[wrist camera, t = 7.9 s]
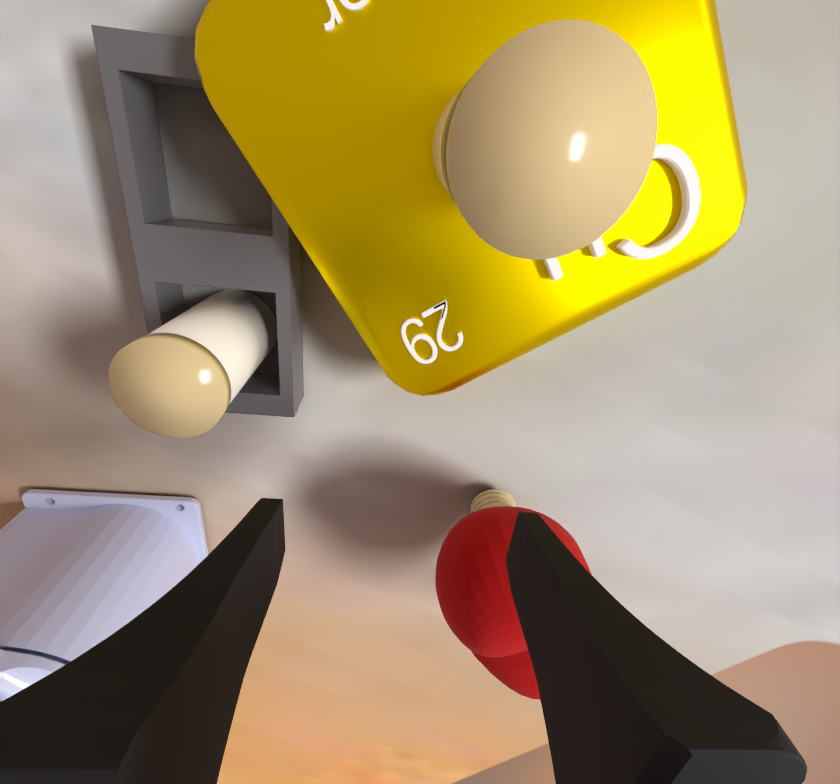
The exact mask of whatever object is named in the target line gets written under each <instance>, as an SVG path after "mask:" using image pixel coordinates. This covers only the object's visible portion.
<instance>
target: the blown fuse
mask: <svg viewBox="0 0 840 784" xmlns="http://www.w3.org/2000/svg"><path fill="white" fill-rule="evenodd" d="M657 130H658V111H657V103H656V96H655V92H654V88H653V85H652V81H651V79H650V76H649V74H648V71H647V69H646V67H645V65H644V64H643V62H642V60H641V59H640V57H639V55H638V54H637V53H636V52H635V50H634V49H633V48H632V47H631V46H630V45H629V44H628V43H627V42H626V41H625V40H624V39H623V38H621V37H620V36H619V35H618V34H616V33H615V32H613V31H611V30H609V29H607V28H606V27H604V26H601V25H598V24H595V23H592V22H589V21H582V20H575V19H573V20H556V21H551V22H546V23H542V24H540V25H537V26H534V27H531V28H529V29H527V30H525V31H523V32H521V33H519V34H518V35H516V36H514V37H513V38H511V39H510V40H508V41H507V42H506V43H504V44H503V45H502V46H500V47H499V48H498V49H497V50H496V51H495V52H494V53H493V54H492V55H491V56H490V57H489V58H488V59H487V60H486V61H485V62H484V63H483V64H482V65H481V66H480V68H479V69H478V70H477V71H476V72H475V74H474V75H473V76H472V77H471V78H470V79H469V80H468V81H467V83H466V84H465V85H464V86H463V87H462V89H461V90H460V91H459V92H458V93H457V94H456V95H455V96H453V97H452V99H451V100H450V101H449V102H448V103H447V105H446V106H445V108H444V109H443V111H442V113H441V115H440V117H439V119H438V121H437V124H436V127H435V131H434V136H433V144H432V155H433V163H434V167H435V170H436V173H437V176H438V178H439V180H440V182H441V184H442V185H443V187H444V188H445V190H446V191H447V192H448V194H449V195H450V196H451V198H452V200H453V202H454V203H455V205H456V206H457V208H458V209H459V211H460V213H461V215H462V216H463V217H464V219H465V220H466V222H467V223H468V224H469V226H470V227H471V229H472V230H473V231H474V232H475V233H476V234H477V235H478V236H479V237H480V238H481V239H482V240H483V241H485V242H486V243H487V244H488V245H490V246H492V247H493V248H495V249H497V250H498V251H500V252H503V253H505V254H508V255H510V256H514V257H518V258H523V259H532V260H538V259H550V258H556V257H560V256H564V255H567V254H570V253H572V252H575V251H577V250H579V249H582V248H583V247H585V246H587V245H589V244H590V243H592V242H594V241H595V240H597V239H598V238H599V237H601V236H602V235H603V234H605V233H606V232H607V231H608V230H609V229H610V228H611V227H612V226H614V225H615V224H616V222H617V221H618V220H619V219H620V218H621V217H622V216H623V215H624V214H625V212H626V211H627V209H628V208H629V207H630V205H631V204H632V203H633V201H634V199H635V198H636V196H637V194H638V193H639V191H640V189H641V187H642V185H643V183H644V181H645V178H646V176H647V174H648V171H649V168H650V165H651V162H652V159H653V155H654V150H655V146H656V139H657Z"/></svg>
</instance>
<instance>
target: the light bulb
mask: <svg viewBox="0 0 840 784" xmlns="http://www.w3.org/2000/svg"><path fill="white" fill-rule="evenodd" d="M470 512H471V513H470V514H469V515H467V516H466V517H464V518H463V519H461V520H460V521H459V522H458V523H457V524H456V525H455V526H454V527H453V528H452V529H451V531H450V532H449V534H448V535H447V537H446V539H445V540H444V542H443V544H442V547H441V550H440V553H439V556H438V559H437V565H436V591H437V596H438V600H439V604H440V607H441V610H442V613H443V616H444V618H445V620H446V622H447V624H448V625H449V627H450V628H451V630H452V631H453V633H454V634H455V635H456V636H457V638H458V639H459V640H460V641H461V642H462V643H463V644H464V645H465V646H466V647H468V648H469V649H470V650H471V651H472V653H473V654H474V656H475V657H476V658H477V659H478V660H479V661H480V662H481V663H482V664H483V665H484V666H485V667H486V668H487V670H488V671H489V672H490V673H491V674H493V675H494V676H495V677H496V678H497V679H499V680H500V681H501V682H502V683H503V684H505V685H506V686H507V687H509V688H510V689H512V690H514V691H515V692H517V693H519V694H521V695H523V696H526V697H529V698H532V699H540V694H539V689H538V684H537V680H536V676H535V672H534V668H533V665H532V661H531V658H530V654H529V651H528V648H527V644H526V641H525V638H524V634H523V631H522V628H521V624H520V621H519V618H518V614H517V611H516V607H515V604H514V600H513V597H512V593H511V589H510V583H509V578H508V571H507V565H506V556H507V552H508V548H509V545H510V541H511V537H512V533H513V530H514V526H515V522H516V518H517V515H518V512H530V513H538V514H539V515H540V517H541V518H542V519H543V520H544V521H545V522H546V524H547V525H548V526H549V527H550V528H551V530H552V531H553V532H554V533H555V534H556V536H557V537H558V538H559V539H560V540H561V542H562V543H563V544H564V545H565V546H566V547H567V549H568V550H569V551H570V552H571V553H572V554H573V555H574V557H575V558H576V559H577V560H578V561H579V562H580V563H581V564H582V565H583V566H584V568H585V569H586V570H587V571H588V572H589V573H590V574H591V572H590V570H589V567H588V565H587V563H586V561H585V559H584V557H583V554H582V552H581V550H580V548H579V546H578V544H577V543H576V541H575V540H574V538H573V537H572V536H571V535H570V534H569V533H568V532H567V531H566V530H565V529H564V528H563V527H562V526H561V525H560V524H559V523H557V522H556V521H554V520H553V519H551V518H549V517H547V516H546V515H544V514H542V513H539V512H536V511H533V510H530V509H525V508H520V507H517V506H516V504H515V500H514V498H513V497H512V496H511V495H510V494H509V493H507V492H506V491H503V490H498V489H492V490H487V491H484V492H482V493H480V494H479V495H477V496H476V497H475V498H474V500H473V501H472V503H471V507H470Z"/></svg>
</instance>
